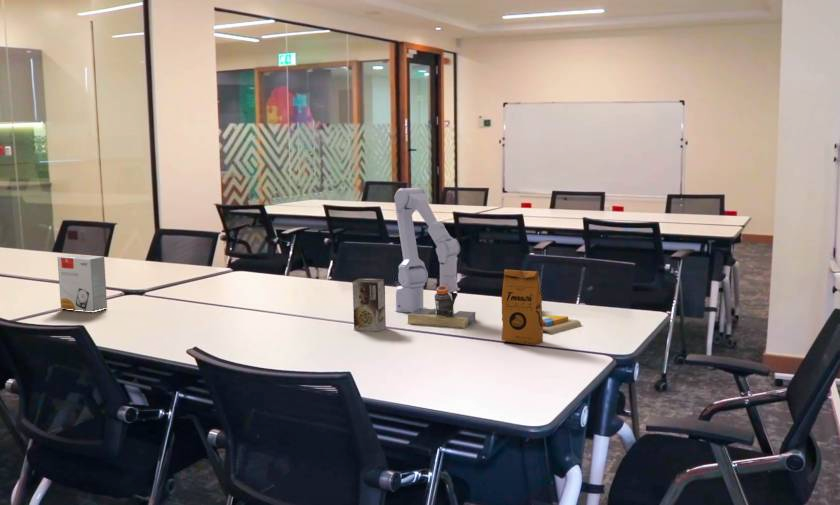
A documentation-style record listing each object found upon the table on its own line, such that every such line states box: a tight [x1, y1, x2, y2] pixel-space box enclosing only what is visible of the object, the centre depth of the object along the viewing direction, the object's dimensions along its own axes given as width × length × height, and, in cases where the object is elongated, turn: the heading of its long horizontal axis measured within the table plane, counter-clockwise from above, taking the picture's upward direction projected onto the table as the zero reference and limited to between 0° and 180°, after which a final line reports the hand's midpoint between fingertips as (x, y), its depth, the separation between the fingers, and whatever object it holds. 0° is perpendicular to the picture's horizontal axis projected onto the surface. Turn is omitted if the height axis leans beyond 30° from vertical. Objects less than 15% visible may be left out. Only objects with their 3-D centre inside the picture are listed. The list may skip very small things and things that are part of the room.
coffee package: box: [501, 269, 544, 346], centre depth 241 cm, size 10×12×22 cm
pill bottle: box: [434, 285, 455, 316], centre depth 271 cm, size 6×6×11 cm
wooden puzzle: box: [542, 313, 582, 335], centre depth 264 cm, size 18×19×4 cm
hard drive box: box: [57, 254, 108, 311], centre depth 294 cm, size 16×8×20 cm, turn 68°
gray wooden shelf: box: [407, 308, 476, 329], centre depth 270 cm, size 20×11×3 cm, turn 69°
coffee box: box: [351, 278, 387, 332], centre depth 260 cm, size 9×6×16 cm
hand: (448, 314), depth 276 cm, fingers closed
